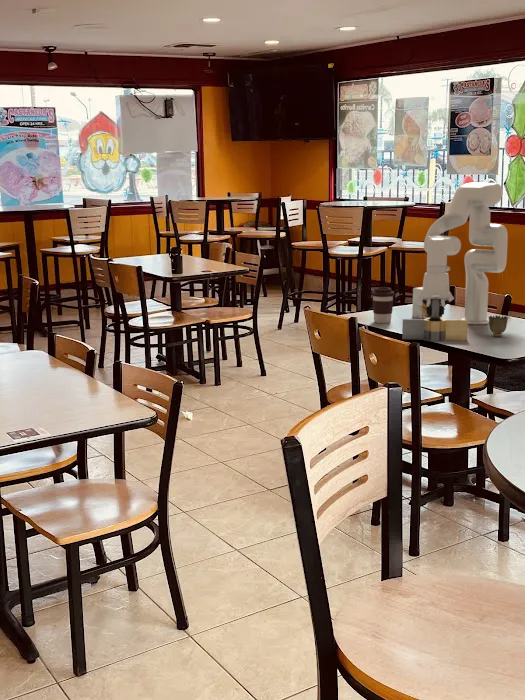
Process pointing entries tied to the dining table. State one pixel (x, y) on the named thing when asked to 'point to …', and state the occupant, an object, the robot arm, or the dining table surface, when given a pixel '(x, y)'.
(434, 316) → the hinge pin
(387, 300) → the coffee cup
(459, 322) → the hinge
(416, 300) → the small box
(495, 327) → the cup
